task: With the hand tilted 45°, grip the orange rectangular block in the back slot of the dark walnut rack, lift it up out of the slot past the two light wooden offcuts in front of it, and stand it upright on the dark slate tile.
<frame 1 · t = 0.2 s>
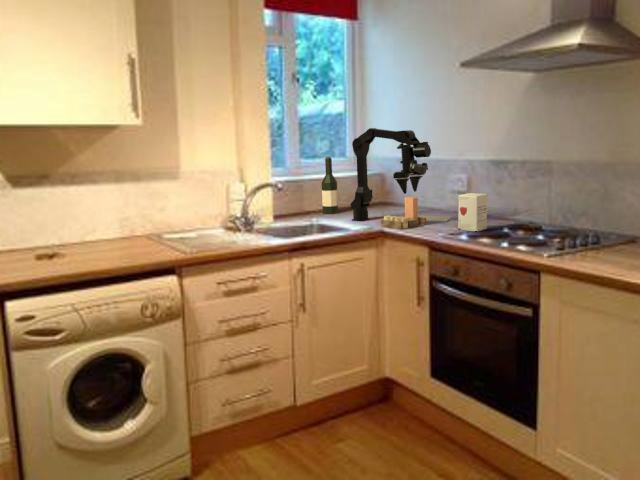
hand: (410, 192, 278), 14 cm above the worktop, tool pointing down, fingers open, 9 cm apart
ash offcut: (390, 226, 268), point 1 cm above the worktop, touching walnut rack
wine bottle: (330, 213, 326), on the worktop
slate tile: (428, 221, 284), on the worktop
supplement box: (472, 229, 258), on the worktop
orange rectangular block: (411, 224, 272), point 1 cm above the worktop, touching walnut rack
oak offcut: (401, 227, 263), point 1 cm above the worktop, touching walnut rack
walnut rack: (405, 227, 269), on the worktop
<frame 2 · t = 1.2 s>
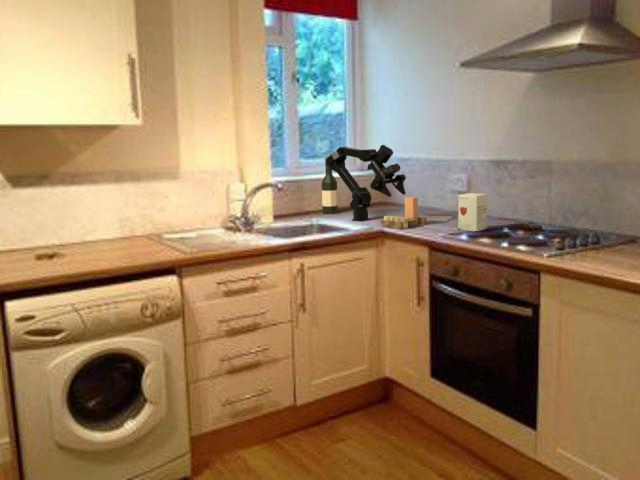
hand: (397, 195, 275), 14 cm above the worktop, tool tilted 45°, fingers open, 9 cm apart
nothing on the worktop moved.
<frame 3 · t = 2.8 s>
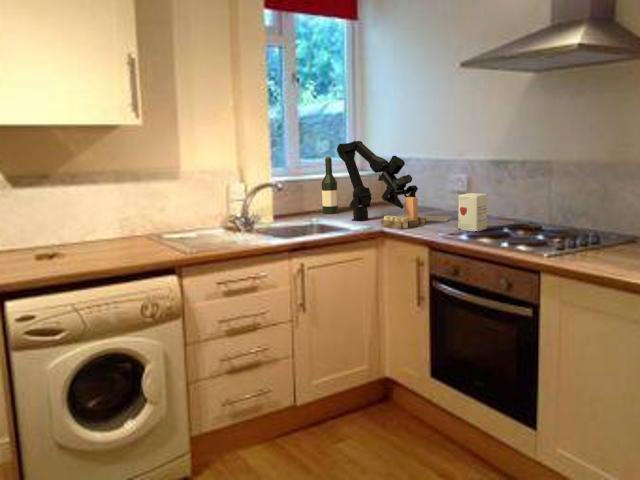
hand: (410, 206, 271), 9 cm above the worktop, tool tilted 45°, fingers open, 9 cm apart
nothing on the worktop moved.
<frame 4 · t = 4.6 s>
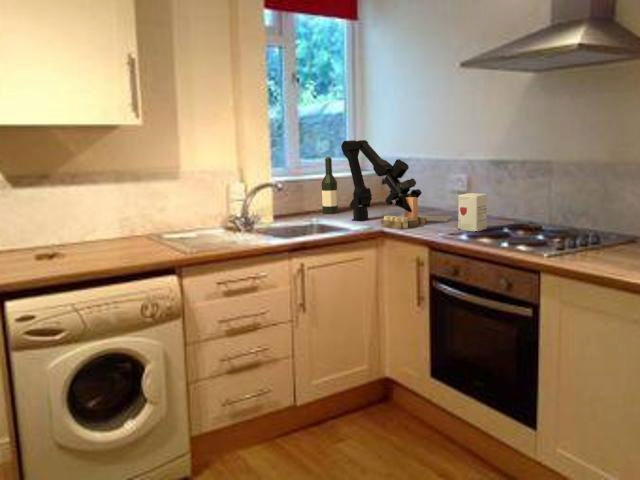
hand: (413, 211, 269), 7 cm above the worktop, tool tilted 45°, fingers closed on orange rectangular block, 3 cm apart
orange rectangular block: (411, 224, 272), point 1 cm above the worktop, touching gripper, walnut rack
everything else where it was.
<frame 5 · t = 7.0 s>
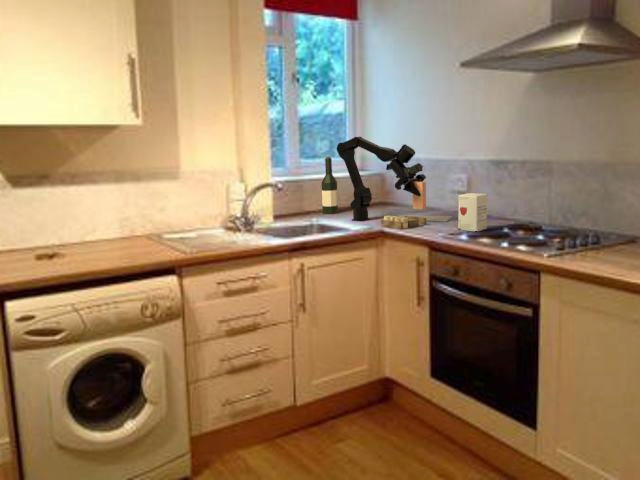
hand: (422, 195, 273), 13 cm above the worktop, tool tilted 45°, fingers closed on orange rectangular block, 3 cm apart
orange rectangular block: (419, 208, 275), point 7 cm above the worktop, touching gripper
everything else where it was.
when the fingers open (9 cm above the worktop, at t = 9.5 s): orange rectangular block drops 1 cm, resting on slate tile.
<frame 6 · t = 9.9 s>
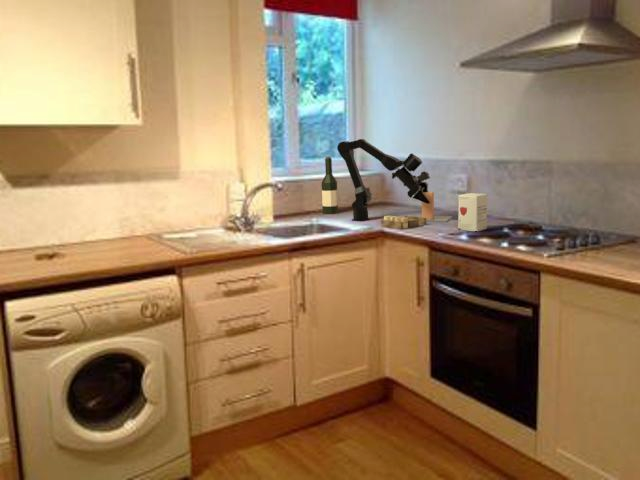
hand: (430, 202, 282), 9 cm above the worktop, tool tilted 45°, fingers open, 7 cm apart
orange rectangular block: (428, 218, 284), point 2 cm above the worktop, touching slate tile
everything else where it was.
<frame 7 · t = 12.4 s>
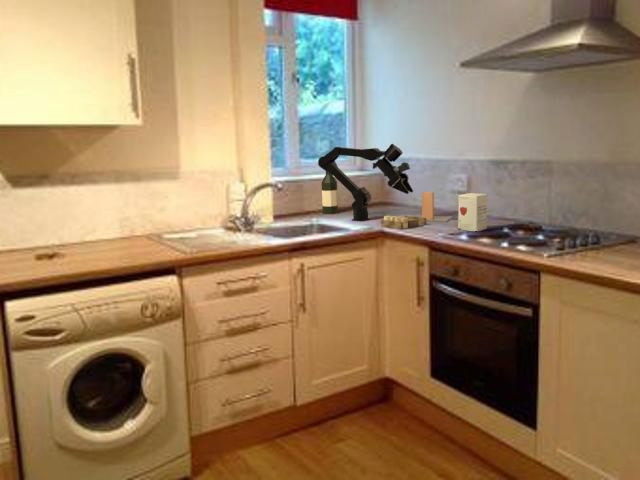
hand: (410, 192, 285), 14 cm above the worktop, tool tilted 45°, fingers open, 9 cm apart
nothing on the worktop moved.
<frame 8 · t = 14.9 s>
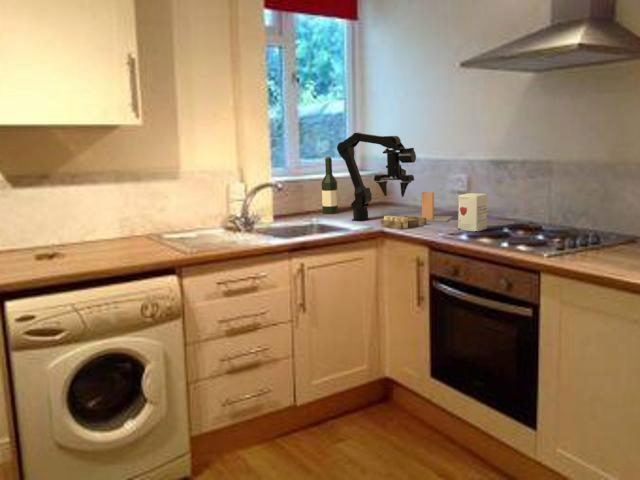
hand: (394, 196, 286), 12 cm above the worktop, tool pointing down, fingers open, 9 cm apart
nothing on the worktop moved.
at the end: orange rectangular block inside the target area on the slate tile (0.0 cm from its centre), point 1.5 cm above the slate tile's base; orange rectangular block tilted 0°; the gripper is holding nothing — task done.
